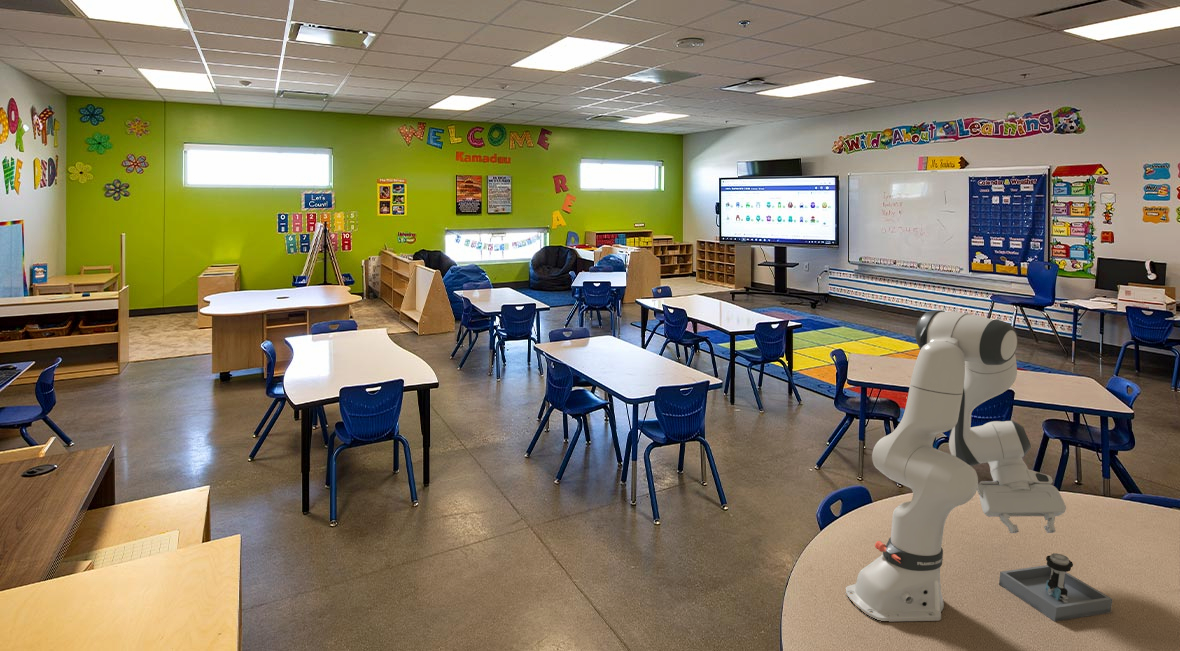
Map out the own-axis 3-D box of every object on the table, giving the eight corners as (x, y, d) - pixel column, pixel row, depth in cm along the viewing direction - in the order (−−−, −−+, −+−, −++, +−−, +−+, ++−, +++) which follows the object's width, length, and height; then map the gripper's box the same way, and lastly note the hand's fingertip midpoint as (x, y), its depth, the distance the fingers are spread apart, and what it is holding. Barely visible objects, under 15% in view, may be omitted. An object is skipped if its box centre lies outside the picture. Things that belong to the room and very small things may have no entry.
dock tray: (1054, 621, 155) (1056, 607, 154) (998, 584, 170) (1000, 571, 170) (1110, 612, 158) (1112, 598, 158) (1051, 576, 174) (1052, 564, 173)
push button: (1077, 604, 160) (1082, 565, 158) (1054, 604, 160) (1059, 565, 158) (1059, 589, 166) (1064, 551, 165) (1037, 588, 167) (1041, 551, 165)
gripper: (979, 476, 177) (998, 528, 169) (1057, 476, 177) (1079, 528, 169) (968, 485, 182) (986, 536, 174) (1043, 485, 182) (1065, 536, 174)
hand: (1033, 532), depth 172 cm, fingers open, 8 cm apart
